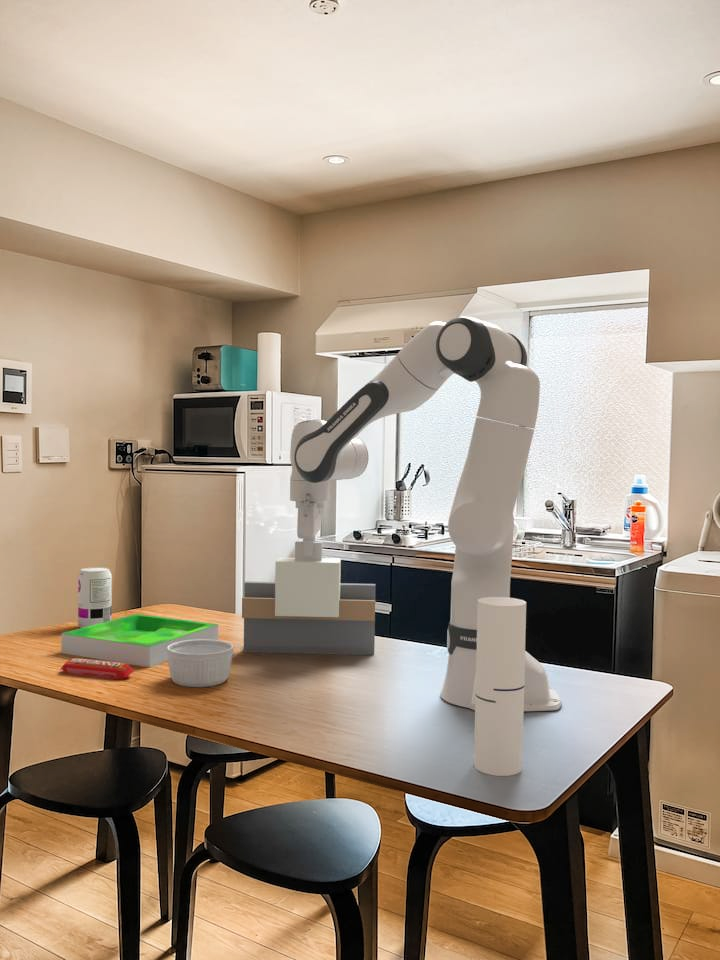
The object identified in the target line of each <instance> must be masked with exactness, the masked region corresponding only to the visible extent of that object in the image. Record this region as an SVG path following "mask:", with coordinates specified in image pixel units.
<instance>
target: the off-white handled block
mask: <svg viewBox="0 0 720 960" xmlns="http://www.w3.org/2000/svg"><path fill="white" fill-rule="evenodd" d="M323 544H324V543H323V541H315V542H313V554H312V556H305V555H304V543H303V541H295V542H294V557H285V556H284V557H278V558H277V560H276V561H275V570H274V571H275V576H274V577H275V578H274V579H275V580H274V582H275V616H304V617H339V601H340V583H341V578H342V577H341V567H342V566H341V565H342V564H341V563H342V558H340V557H339V558H336V557H335V558H333V557H332V558H331V557H330V558H329V557H328V558H327V557H326V558H325V557H323V556H324V555H323V549H324V548H323V547H324V545H323Z"/></svg>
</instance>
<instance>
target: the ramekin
mask: <svg viewBox="0 0 720 960" xmlns="http://www.w3.org/2000/svg"><path fill="white" fill-rule="evenodd" d="M233 654H234V645H233V643H231V642H228V641H225V640H219V639H218V640H209V639H197V640H186V641H180V642H176V643H172V644H170V645H169V646H168V647H167V655H168V660H169V661H168V667H169V668H168V669H169V676H170V678H171V680H172V682H174V683H175V684H176V685H177V686H181V687H188V688H208V687H214V686H217V685H221V684H224V683H225V682H226V681H227V679H228V678H229V676H230V673H231V667H232V657H233Z"/></svg>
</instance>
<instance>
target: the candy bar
mask: <svg viewBox="0 0 720 960" xmlns="http://www.w3.org/2000/svg"><path fill="white" fill-rule="evenodd" d="M61 670H62V671H63V673H64V674H67V675H68V674H69V675H75V676H86V677H94V678H101V679H102V678H104V679H111V680H112V679H113V680H126V679H127V678H129V676H130V675H131V674H133V673H134V672H135V671H134V669H133V668H132V667H131V666H130V664H126V663H120V662H114V661H108V660H101V659H90V658H89V659H87V658H78V657H76V658H74V657H73V658H70V659H69V660H68V661H65V662H64V663H63V665H62V667H61V668H60V671H61Z"/></svg>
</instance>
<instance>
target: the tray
mask: <svg viewBox="0 0 720 960" xmlns="http://www.w3.org/2000/svg"><path fill="white" fill-rule="evenodd" d="M60 637H61V640H60V641H61V646H60V648H61V650H60V651H61V654H65V655H70V656H71V655H72V656H76V657H77V656H78V657H85V658H89V659H90V658H91V659H94V660H100V661H109V662H119V663H125V664H128V665H132V666H133V665H134V666H139V667H146V668H151V667H155V666H157V665H160V664H162V663H165V662H169V660H168V655H167V647H168V646H169V645H170V644H172V643H176V642H180V641H186V640H197V639H209V640H219V624H218V623H212V622H211V623H210V622H206V621H205V622H203V621H196V620H188V619H181V618H180V619H179V618H171V617H164V616H156V615H155V616H154V615H149V614H140V613H134V614H130V615H126V616H123V617H119V618H116V619H111V620H110V621H107V622H103V623H99V624H95V625H91V626H88V627H84V628H80V627H79V628H77V629H73V630H70V631H69V630H68V631H66V632H62V633H61V636H60Z"/></svg>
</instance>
